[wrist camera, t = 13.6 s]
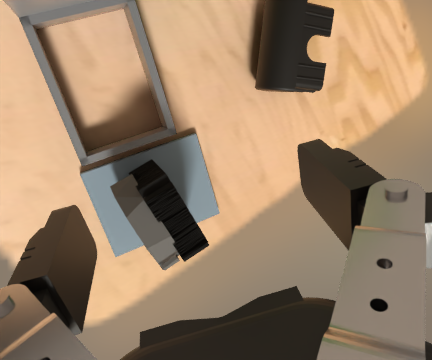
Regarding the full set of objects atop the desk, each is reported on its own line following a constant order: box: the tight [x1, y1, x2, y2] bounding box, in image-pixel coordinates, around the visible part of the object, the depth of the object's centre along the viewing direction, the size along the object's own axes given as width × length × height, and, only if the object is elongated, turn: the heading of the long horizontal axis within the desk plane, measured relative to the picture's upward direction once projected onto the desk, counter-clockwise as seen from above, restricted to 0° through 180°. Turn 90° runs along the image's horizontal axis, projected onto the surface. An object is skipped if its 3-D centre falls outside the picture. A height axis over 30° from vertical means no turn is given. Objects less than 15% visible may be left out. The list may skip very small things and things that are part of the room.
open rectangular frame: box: [3, 0, 177, 166], centre depth 32 cm, size 11×16×14 cm
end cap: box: [255, 0, 334, 93], centre depth 41 cm, size 10×7×7 cm
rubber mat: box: [80, 133, 219, 257], centre depth 43 cm, size 14×11×1 cm
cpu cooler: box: [110, 159, 209, 270], centre depth 38 cm, size 10×6×10 cm, turn 29°
